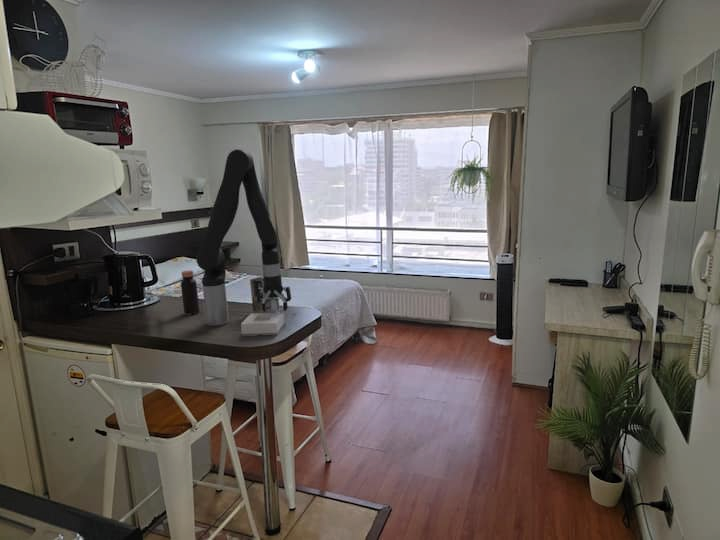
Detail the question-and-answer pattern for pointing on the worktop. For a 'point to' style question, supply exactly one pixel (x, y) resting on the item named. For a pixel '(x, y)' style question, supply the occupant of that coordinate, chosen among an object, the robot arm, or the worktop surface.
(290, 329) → the worktop surface
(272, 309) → the peg
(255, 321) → the socket block
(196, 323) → the worktop surface
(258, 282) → the coffee box
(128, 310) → the worktop surface
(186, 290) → the bottle
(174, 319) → the worktop surface
